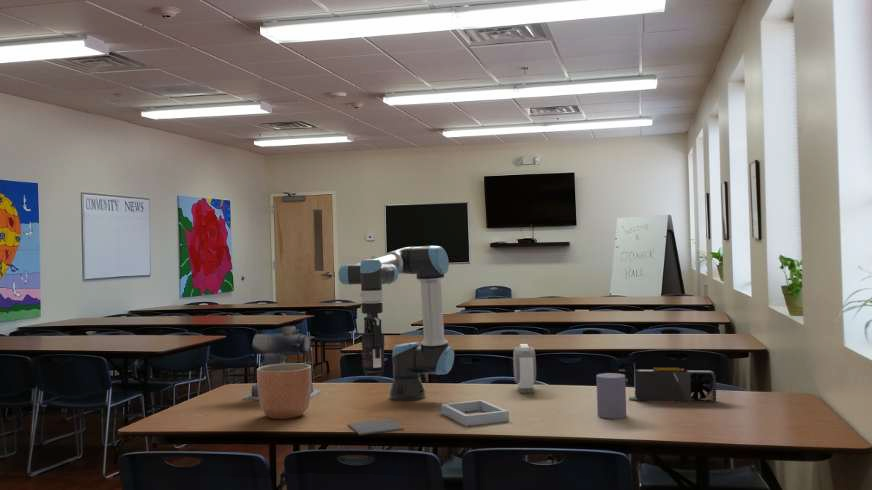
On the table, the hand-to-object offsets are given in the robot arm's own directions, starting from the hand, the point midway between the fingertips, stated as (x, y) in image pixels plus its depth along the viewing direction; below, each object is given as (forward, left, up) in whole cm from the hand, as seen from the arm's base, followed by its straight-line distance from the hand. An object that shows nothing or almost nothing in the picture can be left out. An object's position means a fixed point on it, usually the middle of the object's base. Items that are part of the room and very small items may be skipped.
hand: (373, 365), depth 268 cm
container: (+25, +83, -22) cm, 89 cm away
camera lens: (0, 0, -3) cm, 3 cm away
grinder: (-78, -20, -22) cm, 84 cm away
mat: (0, 0, -22) cm, 22 cm away
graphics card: (+14, +119, -23) cm, 122 cm away
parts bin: (+2, +38, -22) cm, 44 cm away
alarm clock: (-35, +79, -22) cm, 89 cm away
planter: (-35, -26, -22) cm, 49 cm away
